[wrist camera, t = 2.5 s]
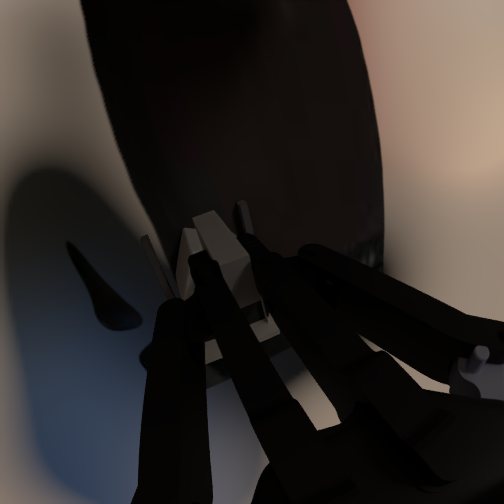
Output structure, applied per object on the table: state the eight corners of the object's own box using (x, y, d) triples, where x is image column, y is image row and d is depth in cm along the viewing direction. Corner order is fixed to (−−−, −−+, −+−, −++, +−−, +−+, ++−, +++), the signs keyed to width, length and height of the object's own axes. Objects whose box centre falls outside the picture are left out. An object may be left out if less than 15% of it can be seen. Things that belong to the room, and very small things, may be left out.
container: (223, 278, 42) (253, 334, 32) (174, 275, 39) (190, 336, 28) (235, 232, 40) (272, 279, 29) (182, 226, 36) (200, 276, 26)
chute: (140, 237, 35) (140, 249, 31) (243, 199, 38) (253, 208, 34) (196, 349, 47) (201, 365, 44) (271, 319, 50) (280, 333, 47)
